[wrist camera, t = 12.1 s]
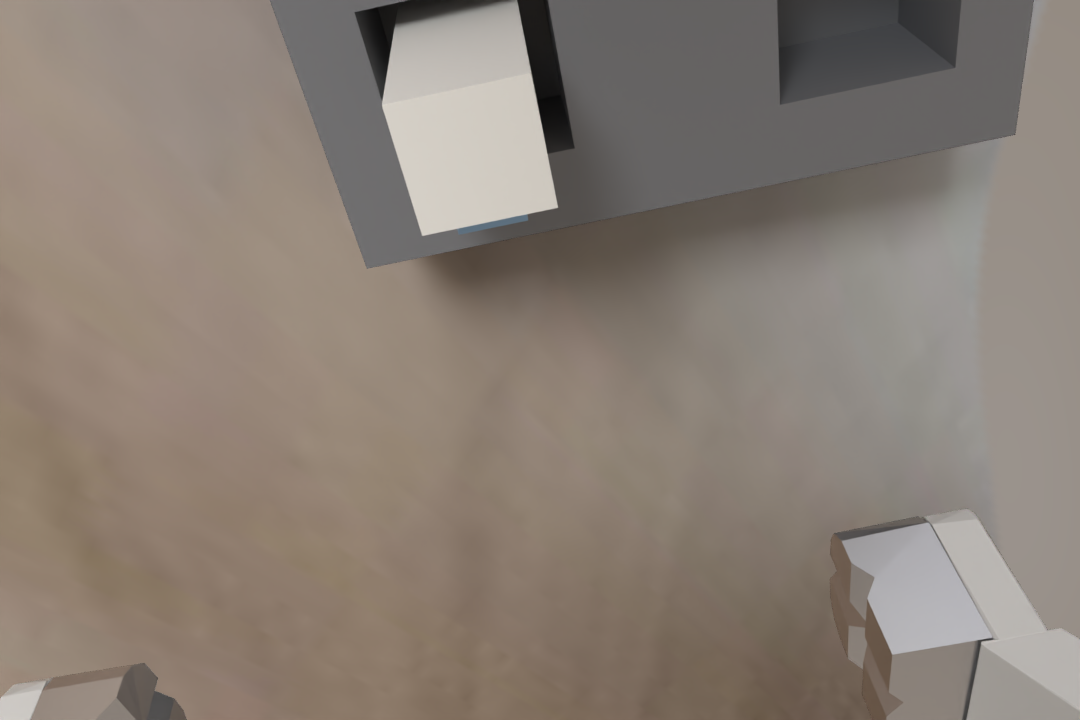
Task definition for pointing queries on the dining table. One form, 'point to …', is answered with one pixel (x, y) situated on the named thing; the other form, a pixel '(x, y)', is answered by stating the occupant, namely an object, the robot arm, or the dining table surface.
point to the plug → (466, 115)
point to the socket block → (676, 98)
